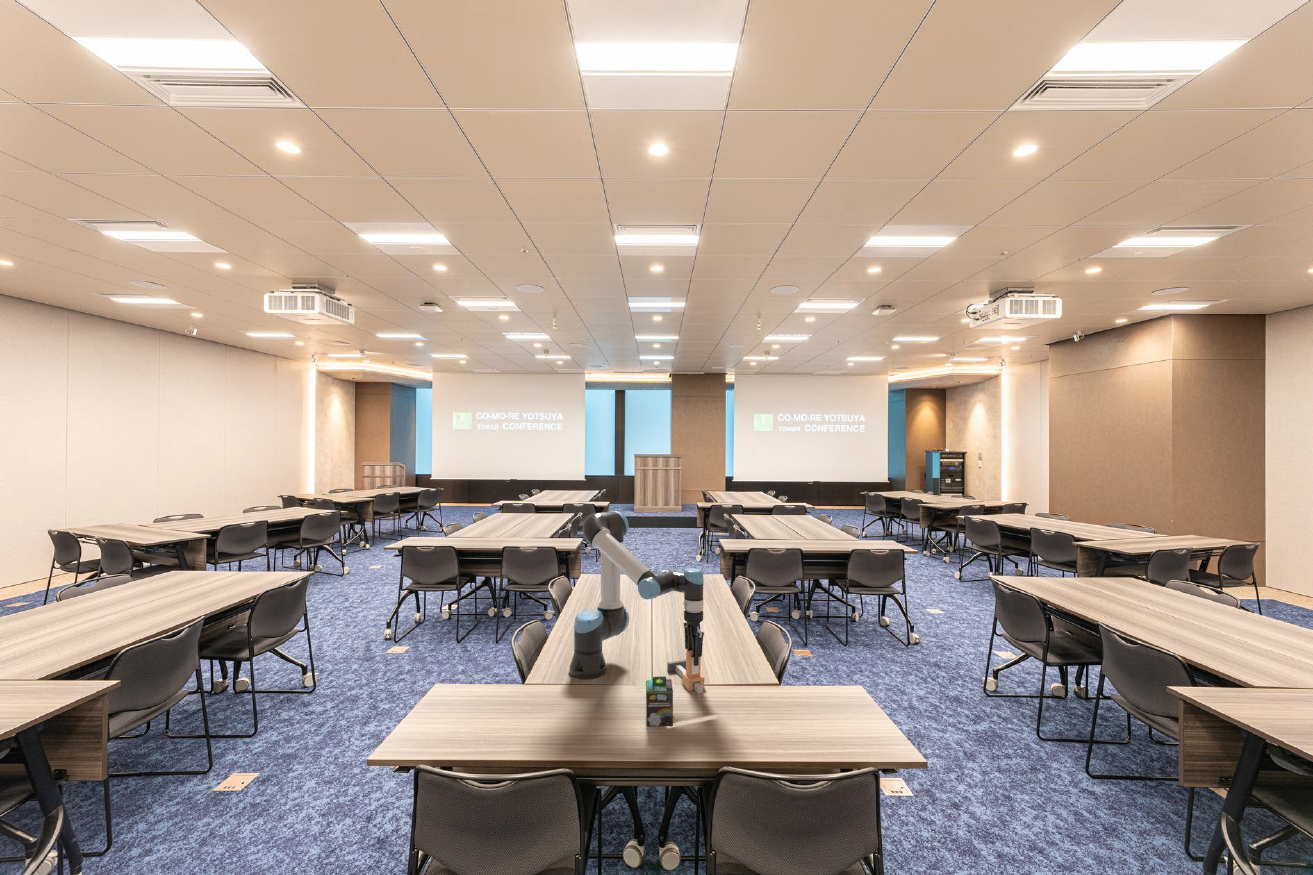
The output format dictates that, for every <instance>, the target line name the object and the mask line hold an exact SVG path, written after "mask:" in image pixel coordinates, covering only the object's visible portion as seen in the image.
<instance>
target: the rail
mask: <svg viewBox="0 0 1313 875" xmlns="http://www.w3.org/2000/svg"><path fill="white" fill-rule="evenodd" d="M666 666H667V668H666V671H667V672H668V673H674V672H675V673H676V674H677V675H678V676H679V677H680V678H682V673H686V659H682V660H675V661H674V660H673V661H669V662H667V665H666ZM693 691H695V692H696V693H697V694H698V695H699V694H703V693H704V688H703V686H702V685H701V684H700V683H699V682H693Z"/></svg>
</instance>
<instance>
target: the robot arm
mask: <svg viewBox="0 0 1313 875" xmlns="http://www.w3.org/2000/svg"><path fill="white" fill-rule="evenodd" d="M629 527H630V526H629V520H628V519H627V516H625V514H624V513H623V512H620V511H617V510H609V511H603V512H595V513H592V514H590V515H588V516H587V517H586V518H585V519H584V521H583V523H582V534H583V537H584V539H585V540H586V542H587V543H588V544H589V545H590V546H591V547H592V548H593V549H598V550H599V551H600V602H598V604H596V605H597V606H596V607H597V609H589V610H583V611H582V612H580V613H578V614H577V615H576V616H575V618H574V625H573V630H574V632H573V638H574V639H573V641H574V642H573V650H574V651H573V655H572V658H571V660H570V663H569V672H568V673H569V674H570V676H572V677H574V678H577V679H582V680H583V679H584V680H586V679H587V680H589V679H596V678H598V677H601V676H602V675H605V673H606V672H607V663H606V662H607V661H606V659H605V656H604V653H603V642H604V641H606V640H608V639H611V638H614V637H615V636H618V635H620V634H622V633H623V632H625V631H626V630H627V628H628V626H629V623H630V615H629V611H627V608H626V607H625V604H624V602H622V600H621V572H622V573H623V574H624V575H626V576H627V578H629V579H630V580H631V581H632V582H633V583H634V584H635V585H636V586H637V592H638V594H639V596H640V597H641V598H642V599H643V600H651V599H656V598H658V597H660V596H662V595H665V594H669V593H671V592H678V593H681V594H683V599H684V600H683V603H682V604H683V609H684V610H683V620H684V621H685V622H683V628H684V630H683V631H684V647H685V648H684V649H685V650H686V651H691V650H692V651H693V655H692V656H691V657H692V665H691V674H698V673H699V657H702V656H703V646H704V645H703V644H704V643H703V641H704V636H705V633H704V631H701V623H702V622H703V621H704V583H705V580H704V571H703V570H702V569H701V568H693V567H691V568H690V567H689V568H685V569H684V572H680V571H676V570H671V569H662V570H660V571H659V572H658V574H655V573H654V572H653V571H652V570H650V569H649V568H648V567H647V566H646V565H645V564H644V563H643V562H641V560H639V559H638V558H637V557H636V556H635V555H634V554H633V553H631V552H630V551H629V550H628V549H627V548H626V547H625V546H624V545H623V544H624V536H626V534H627V533H628V531H629Z"/></svg>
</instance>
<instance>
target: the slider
mask: <svg viewBox="0 0 1313 875" xmlns="http://www.w3.org/2000/svg"><path fill="white" fill-rule="evenodd" d="M692 655H693V651H692V650H691V651H687V650H686V651H685V660H686V673H682V677H681V686H683V687H684V688H685V689H686V690H687V691H689V692H691V691H694V689H693V682H699V683H700V684H701V685H702V686H703V689H705V676H704V675H703V674H701V657H699V673H698V674H691V665H692V657H691V656H692Z"/></svg>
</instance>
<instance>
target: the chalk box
mask: <svg viewBox="0 0 1313 875" xmlns="http://www.w3.org/2000/svg"><path fill="white" fill-rule="evenodd" d="M645 704H646V705H645V710H646V711H645V721H646V722H645V724H646V725H645V726H646V727H673V726H674V689H673V682H672V679H671V678H670V679H669V678H668V679H667V677H666V676H653V677H652V679H646V680H645Z"/></svg>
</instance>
